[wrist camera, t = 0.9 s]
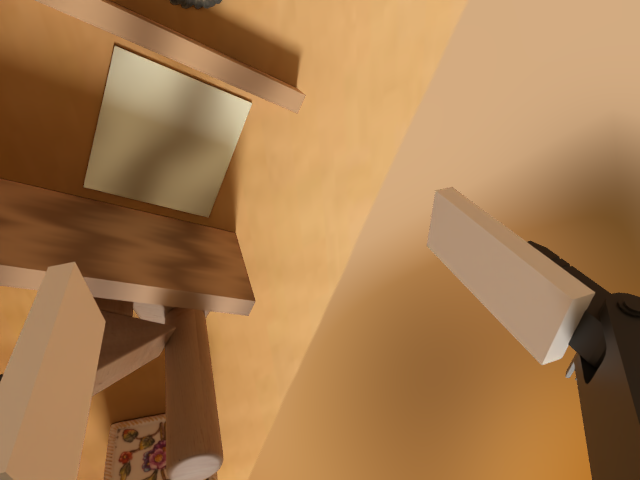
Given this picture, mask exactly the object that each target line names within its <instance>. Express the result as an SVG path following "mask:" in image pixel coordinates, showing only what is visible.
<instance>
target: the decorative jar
mask: <svg viewBox="0 0 640 480" xmlns="http://www.w3.org/2000/svg"><path fill="white" fill-rule="evenodd" d="M104 480H170V479H169V478H168V476H167V472H166V414H161V415H155V416H150V417H144V418H139V419H134V420H129V421H123V422H118V423H114V424H112V425H111V428H110V433H109V440H108V448H107V455H106V462H105V471H104ZM204 480H217V472H216V473H215V474H213V475H212V476H210V477H208V478H206V479H204Z"/></svg>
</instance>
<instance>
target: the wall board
mask: <svg viewBox="0 0 640 480" xmlns="http://www.w3.org/2000/svg"><path fill="white" fill-rule="evenodd" d="M35 1H38V2H40V3H42V4H45V5H47V6H49V7H51V8H54V9H56V10H58V11H61V12H63V13H65V14H68V15H70V16H72V17H75V18H77V19H79V20H82V21H84V22H86V23H89V24H91V25H93V26H96V27H98V28H100V29H102V30H105V31H107V32H109V33H112V34H114V35H116V36H119V37H121V38H123V39H126V40H128V41H130V42H133V43H135V44H137V45H140V46H142V47H144V48H147V49H149V50H151V51H154V52H156V53H158V54H160V55H163V56H165V57H167V58H170V59H172V60H174V61H177V62H179V63H181V64H184V65H186V66H188V67H191V68H193V69H195V70H198V71H200V72H202V73H205V74H207V75H209V76H211V77H214V78H216V79H218V80H221V81H223V82H225V83H228V84H230V85H232V86H235V87H237V88H239V89H242V90H244V91H246V92H249V93H251V94H253V95H256V96H258V97H260V98H262V99H265V100H267V101H269V102H272V103H274V104H276V105H279V106H281V107H283V108H286V109H288V110H290V111H293V112H295V113H297V114H298V112H299V110H300V107H301V105H302V103H303V100H304V98H305V96H306V95H305V94H303V93H302V92H301V91H300V90H299V89H297V88H296V87H293V86H291V85H289V84H287V83H285V82H283V81H281V80H279V79H276V78H274V77H272V76H270V75H268V74H266V73H264V72H261V71H259V70H257V69H255V68H253V67H251V66H249V65H247V64H244V63H242V62H240V61H238V60H236V59H234V58H232V57H229V56H227V55H225V54H223V53H221V52H219V51H217V50H215V49H212V48H210V47H208V46H206V45H204V44H202V43H200V42H197V41H195V40H193V39H191V38H189V37H187V36H185V35H183V34H180V33H178V32H176V31H174V30H172V29H170V28H168V27H165V26H163V25H161V24H159V23H157V22H155V21H153V20H151V19H148V18H146V17H144V16H142V15H140V14H138V13H136V12H133V11H131V10H129V9H127V8H125V7H123V6H121V5H119V4H116V3H114V2H112V1H110V0H35ZM251 105H252V103H251V102H249V101H246V100H244V99H242V98H239V97H237V96H234V95H232V94H230V93H227V92H225V91H222V90H220V89H218V88H215V87H213V86H211V85H208V84H206V83H203V82H201V81H199V80H196V79H194V78H191V77H189V76H187V75H184V74H182V73H179V72H177V71H175V70H172V69H170V68H168V67H165V66H163V65H160V64H158V63H156V62H153V61H151V60H148V59H146V58H144V57H141V56H139V55H137V54H134V53H132V52H129V51H127V50H125V49H122V48H120V47H117V46H115V47H114V51H113V56H112V60H111V65H110V69H109V74H108V78H107V83H106V87H105V92H104V96H103V101H102V105H101V110H100V114H99V119H98V123H97V128H96V132H95V137H94V141H93V146H92V150H91V155H90V159H89V164H88V168H87V173H86V177H85V182H84V186H83V187H85V188H89V189H93V190H97V191H101V192H106V193H110V194H114V195H118V196H122V197H126V198H130V199H134V200H138V201H142V202H146V203H151V204H155V205H159V206H163V207H167V208H171V209H175V210H179V211H183V212H187V213H192V214H196V215H200V216H204V217H208V218H209V215H210V213H211V210H212V207H213V205H214V202H215V199H216V197H217V194H218V192H219V189H220V186H221V184H222V181H223V178H224V176H225V173H226V171H227V168H228V165H229V163H230V160H231V157H232V155H233V152H234V150H235V147H236V144H237V142H238V139H239V136H240V134H241V131H242V129H243V126H244V123H245V121H246V118H247V115H248V113H249V110H250V108H251ZM71 262H75V263H76V265H77V267H78V269H79V270H80V272H81V274H82V276H83V278H84V280H85V282H86V284H87V286H88V288H89V290H90V292H91V294H92V296H93V297H98V298H106V299H114V300H122V301H131V302H139V303H147V304H155V305H163V306H172V307H180V308H188V309H196V310H205V311H213V312H221V313H229V314H238V315H246V316H249V314H250V312H251V310H252V307H253V305H254V303H255V298H254V294H253V291H252V288H251V284H250V281H249V277H248V274H247V270H246V267H245V263H244V260H243V257H242V253H241V250H240V246H239V243H238V239H237V236H236V233H233V232H229V231H225V230H221V229H216V228H212V227H208V226H203V225H199V224H195V223H190V222H186V221H182V220H177V219H173V218H169V217H165V216H160V215H156V214H152V213H147V212H143V211H139V210H134V209H130V208H126V207H122V206H117V205H113V204H109V203H104V202H100V201H96V200H91V199H87V198H83V197H78V196H74V195H70V194H66V193H61V192H57V191H53V190H48V189H44V188H40V187H35V186H31V185H27V184H22V183H18V182H14V181H10V180H5V179H1V178H0V286H7V287H15V288H23V289H32V290H39V288H40V285H41V283H42V281H43V278H44V276H45V273H46V271H47V269H48V267H50V266H56V265H61V264H66V263H71Z"/></svg>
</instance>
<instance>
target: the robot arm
mask: <svg viewBox="0 0 640 480" xmlns="http://www.w3.org/2000/svg"><path fill="white" fill-rule="evenodd" d="M427 246H428V248H429V249H430V250H431V251H432V252H433V253H434V254H435V255H436V256H437V257H438V258H439V259H440V260H441V261H442V262H443V263H444V264H445V265H446V266H447V267H448V268H449V270H450V271H451V272H452V273H453V274H454V275H455V276H456V277H457V278H458V279H459V280H460V281H461V282H462V283H463V284H464V285H465V286H466V287H467V288H468V289H469V290H470V291H471V292H472V293H473V294H474V295H475V296H476V298H477V299H478V300H480V302H481V303H482V304H483V305H484V306H485V307H486V308H487V309H488V310H489V311H490V312H491V313H492V314H493V315H494V316H495V317H496V318H497V319H498V320H499V321H500V322H501V323H502V325H503V326H504V327H505V328H506V329H507V330H508V331H509V332H510V333H511V334H512V335H513V336H514V337H515V338H516V339H517V340H518V341H519V342H520V343H521V344H522V345H523V346H524V347H525V348H526V349H527V351H528V352H529V353H530V354H531V355H532V356H533V357H534V358H535V359H536V360H537V361H538V362H539V363H540V364H541V365H544V364H546V363H549V362H552V361H555V360H558V359H561V358H562V357H563V355H564V353H565V351H566V349H567V347H568V345H570V346H571V347H572V348H573V349H574V350H575V351H576V352H577V353H576V355H575V356H574V358H573V360H572V362H571V364H570V366H569V368H568V369H567V371H566V377H567V378H570V376H571V374H572V373H573V371H574V370H575V371H576V380H577V385H578V390H579V397H580V404H581V410H582V417H583V423H584V430H585V436H586V443H587V449H588V455H589V462H590V468H591V475H592V480H640V297H638V296H635V295H631V294H626V293H614V294H611V293H609V292H608V291H606V290H605V289H603V288H602V287H601V286H599V285H598V284H597V283H595V282H594V281H592V280H591V279H589V278H588V277H587V276H585V275H584V274H582V273H581V272H580V271H578V270H577V269H576V268H574V267H573V266H570V264H569V263H567V262H566V261H564V260H563V259H560V258H559V256H557V255H556V254H554V253H553V252H552V251H550V250H549V249H548V248H546V247H544V246H541V245H539V244H536V243H534V242H532V241H528V242H526V241H525V240H523V239H522V238H521V237H519V236H518V235H516V234H515V233H514V232H512V231H511V230H510V229H508V228H507V227H506V226H504V225H503V224H502V223H500V222H499V221H497V220H496V219H495V218H493V217H492V216H491V215H489V214H488V213H487V212H485V211H484V210H482V209H481V208H480V207H479V206H477V205H476V204H474V203H473V202H472V201H470V200H469V199H468V198H466V197H465V196H464V195H462V194H461V193H460V192H458V191H457V190H455V189H454V188H453V187H450V188H445V189H440V190H436V192H435V197H434V204H433V210H432V217H431V223H430V229H429V235H428V242H427ZM105 322H106V321H105V319H104V317H103V315H102V314H101V312H100V310H99V308H98V306H97V304H96V302H95V300H94V298H93V296H92V294H91V292H90V290H89V288H88V286H87V284H86V282H85V280H84V278H83V276H82V274H81V272H80V270H79V269H78V267H77V265H76V263H75V262H71V263H66V264H61V265H56V266H50V267H48V269H47V271H46V273H45V276H44V278H43V281H42V283H41V285H40V288H39V290H38V293H37V295H36V297H35V300H34V302H33V305H32V307H31V309H30V312H29V314H28V317H27V319H26V321H25V324H24V326H23V329H22V331H21V333H20V336H19V338H18V341H17V343H16V345H15V348H14V350H13V353H12V355H11V357H10V360H9V362H8V365H7V367H6V369H5V372H4V374H1V375H0V480H77V475H78V469H79V464H80V458H81V453H82V448H83V442H84V437H85V431H86V426H87V420H88V415H89V409H90V404H91V399H92V393H93V388H94V382H95V377H96V371H97V366H98V360H99V355H100V350H101V344H102V339H103V333H104V328H105Z"/></svg>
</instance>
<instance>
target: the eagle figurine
mask: <svg viewBox="0 0 640 480" xmlns="http://www.w3.org/2000/svg"><path fill="white" fill-rule="evenodd" d="M221 1H222V0H170V3H171V4H173V5H177V4H181V6H182V8H189V7H191V6H192V5H194V6H195V8H196V9H200V8H201V7H204V8H209V7H212V6H214V5H215V4H219V3H220V2H221Z"/></svg>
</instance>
